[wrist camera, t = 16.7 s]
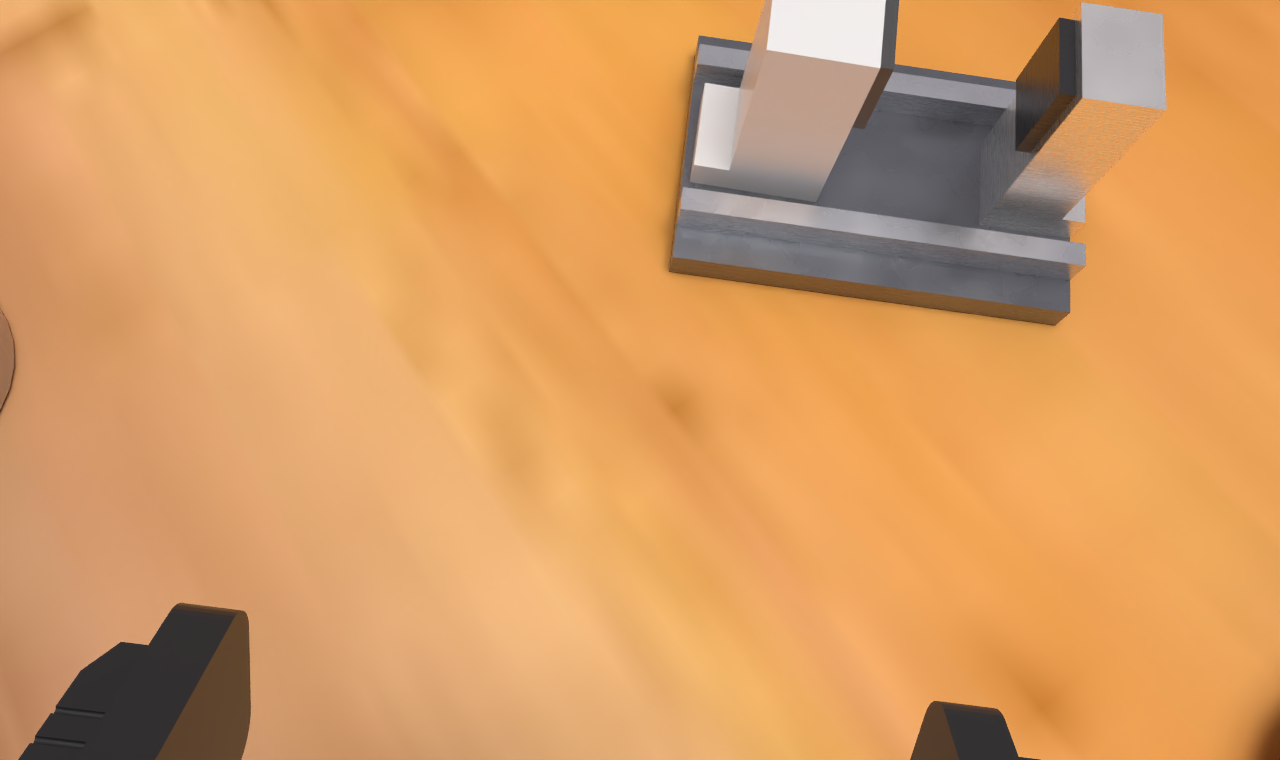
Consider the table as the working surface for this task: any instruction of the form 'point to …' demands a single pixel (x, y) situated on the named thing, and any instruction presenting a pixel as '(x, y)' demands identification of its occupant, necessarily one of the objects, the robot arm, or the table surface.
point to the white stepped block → (796, 96)
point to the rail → (943, 178)
